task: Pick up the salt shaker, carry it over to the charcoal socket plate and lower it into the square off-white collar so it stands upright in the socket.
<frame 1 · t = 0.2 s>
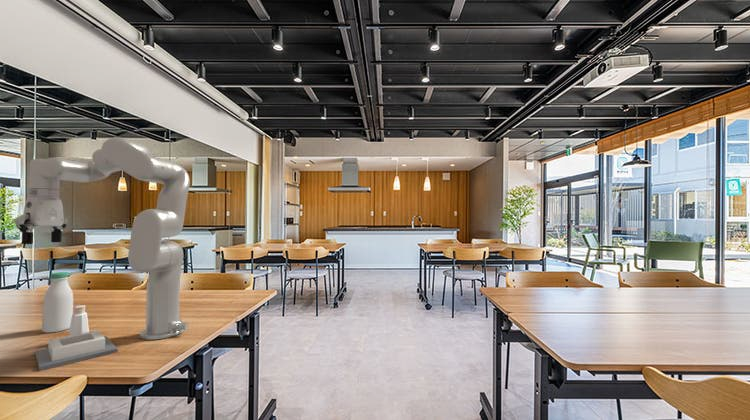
hand: (42, 243, 114), 31 cm above the table, tool pointing down, fingers open, 9 cm apart
salt shaker: (78, 341, 104), on the table
socket: (76, 353, 94), on the table
milk bottle: (57, 330, 115), on the table
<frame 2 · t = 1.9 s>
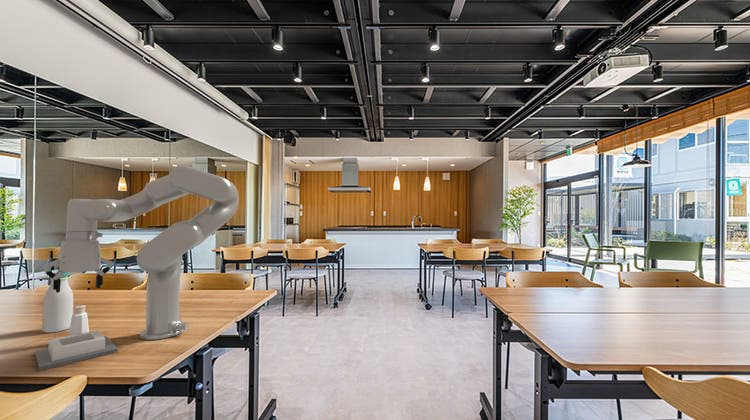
hand: (78, 289, 105), 16 cm above the table, tool pointing down, fingers open, 9 cm apart
nothing on the table moved.
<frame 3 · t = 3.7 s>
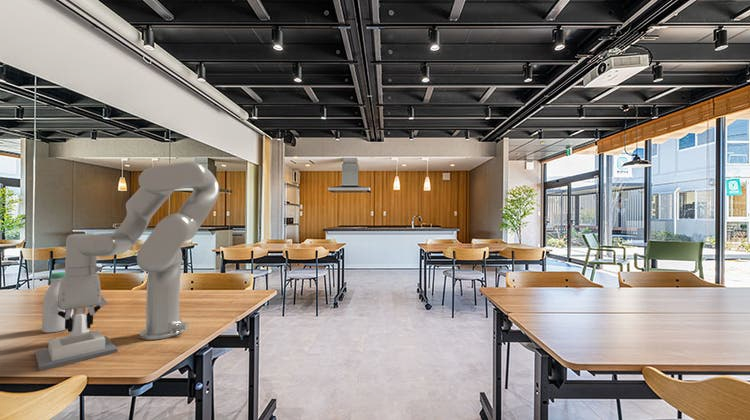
hand: (79, 328, 104), 4 cm above the table, tool pointing down, fingers closed on salt shaker, 3 cm apart
salt shaker: (78, 341, 104), on the table, touching gripper
everything else where it was.
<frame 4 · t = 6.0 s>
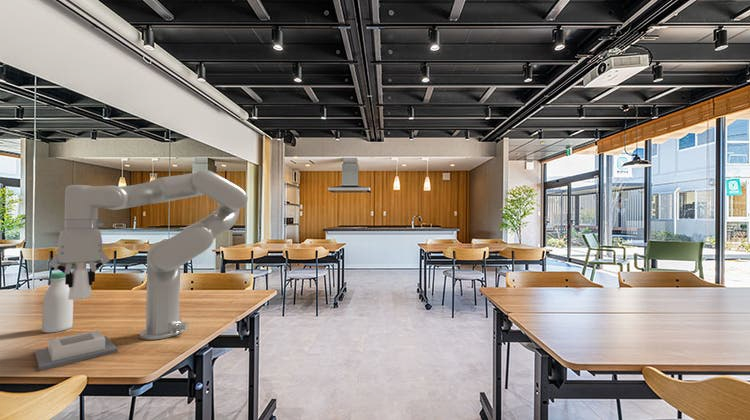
hand: (80, 285, 98), 19 cm above the table, tool pointing down, fingers closed on salt shaker, 3 cm apart
salt shaker: (80, 298, 98), point 15 cm above the table, touching gripper
everything else where it was.
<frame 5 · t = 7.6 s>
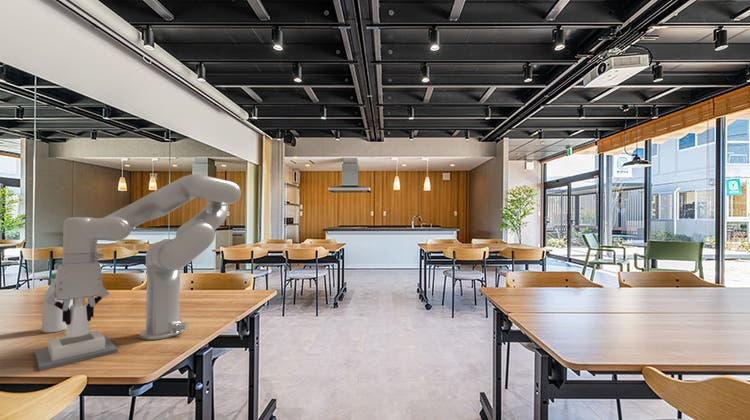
hand: (78, 321, 95), 9 cm above the table, tool pointing down, fingers closed on salt shaker, 3 cm apart
salt shaker: (77, 335, 95), point 5 cm above the table, touching gripper
everything else where it was.
when the fingers open (5 cm above the table, at t = 8.7 s): salt shaker stays where it is, resting on socket.
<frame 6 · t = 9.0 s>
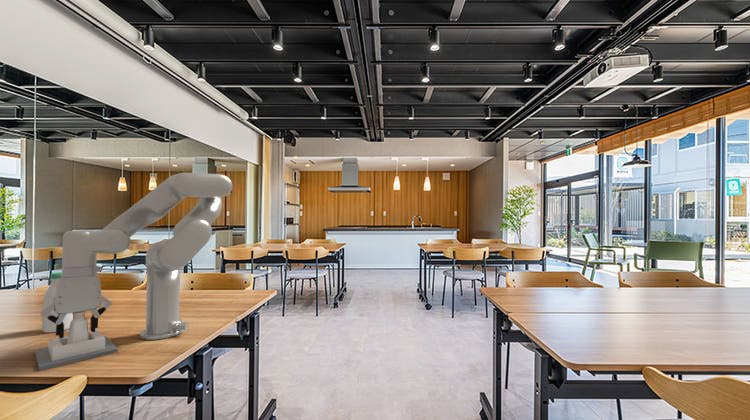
hand: (77, 333, 94), 6 cm above the table, tool pointing down, fingers open, 6 cm apart
salt shaker: (77, 349, 94), point 1 cm above the table, touching socket
everything else where it was.
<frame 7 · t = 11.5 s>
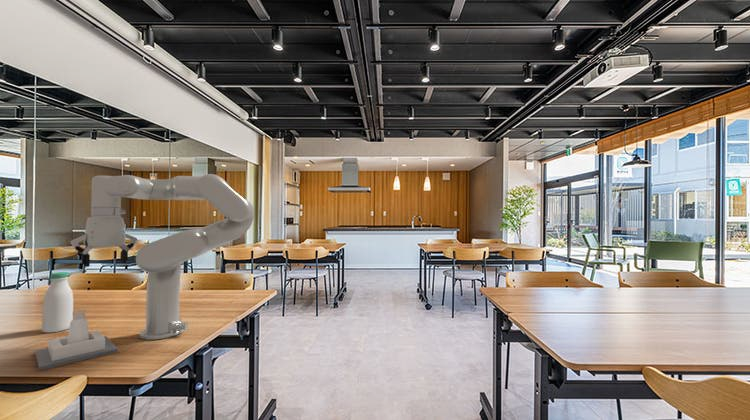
hand: (105, 264, 107), 24 cm above the table, tool pointing down, fingers open, 9 cm apart
nothing on the table moved.
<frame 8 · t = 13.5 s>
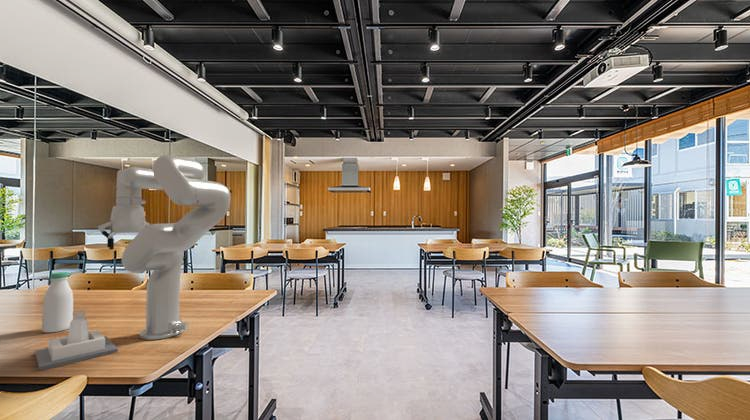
hand: (127, 248, 121), 28 cm above the table, tool pointing down, fingers open, 9 cm apart
nothing on the table moved.
at the end: salt shaker 0.2 cm off-centre on the socket, point 0.8 cm above the socket's base; salt shaker tilted 0°; the gripper is holding nothing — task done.
